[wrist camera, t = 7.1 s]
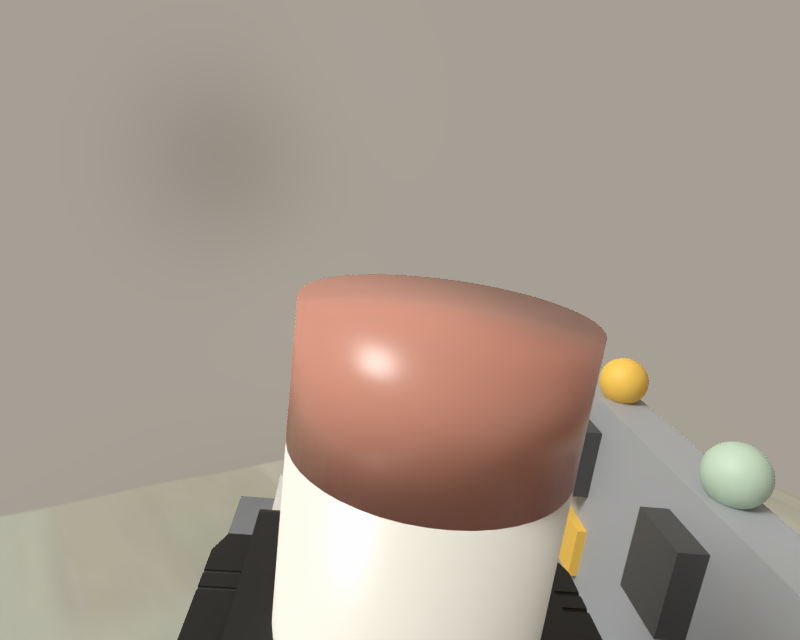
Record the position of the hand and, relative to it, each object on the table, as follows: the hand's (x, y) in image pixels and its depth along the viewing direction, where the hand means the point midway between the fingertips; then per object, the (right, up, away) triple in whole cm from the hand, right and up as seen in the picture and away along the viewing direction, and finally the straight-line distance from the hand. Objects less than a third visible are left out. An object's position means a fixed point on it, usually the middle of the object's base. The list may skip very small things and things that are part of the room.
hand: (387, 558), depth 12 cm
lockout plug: (-1, -8, -1) cm, 8 cm away
